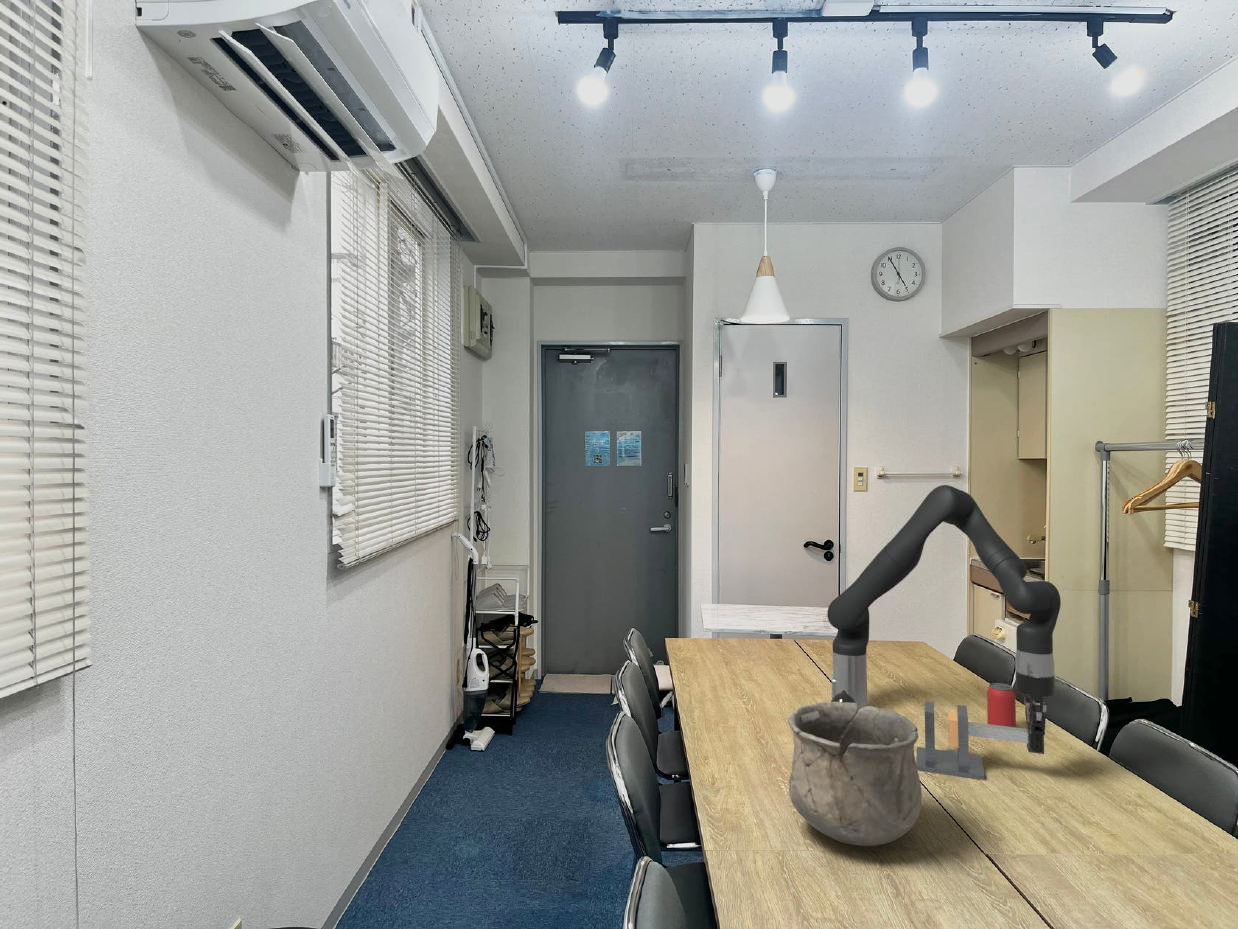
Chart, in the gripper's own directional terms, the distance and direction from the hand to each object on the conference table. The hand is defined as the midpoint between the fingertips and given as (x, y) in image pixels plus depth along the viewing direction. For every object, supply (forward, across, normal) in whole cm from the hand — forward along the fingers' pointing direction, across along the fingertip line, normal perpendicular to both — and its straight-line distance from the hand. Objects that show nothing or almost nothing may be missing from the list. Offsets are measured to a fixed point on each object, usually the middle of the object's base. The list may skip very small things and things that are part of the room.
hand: (1035, 747), depth 156 cm
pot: (+7, +41, -34) cm, 54 cm away
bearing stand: (+7, 0, -18) cm, 19 cm away
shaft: (+1, 0, -8) cm, 8 cm away
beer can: (+7, -28, -4) cm, 29 cm away
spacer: (+1, 0, -17) cm, 17 cm away
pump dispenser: (+7, +4, -40) cm, 41 cm away
